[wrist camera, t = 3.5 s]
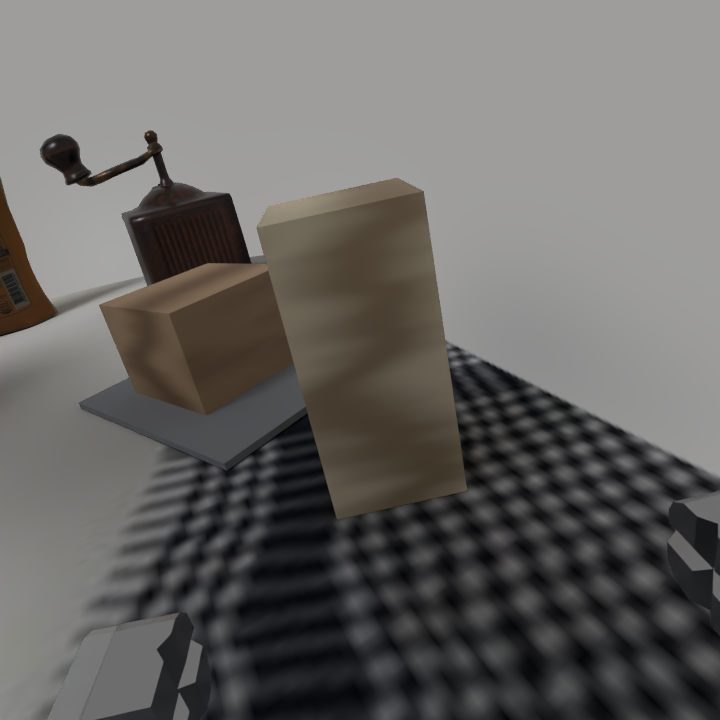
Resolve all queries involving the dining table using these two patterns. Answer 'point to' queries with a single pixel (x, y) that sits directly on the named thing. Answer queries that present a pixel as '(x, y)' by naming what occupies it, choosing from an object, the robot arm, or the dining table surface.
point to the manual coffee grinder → (163, 214)
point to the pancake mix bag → (18, 279)
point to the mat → (208, 418)
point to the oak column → (367, 342)
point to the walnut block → (200, 335)
